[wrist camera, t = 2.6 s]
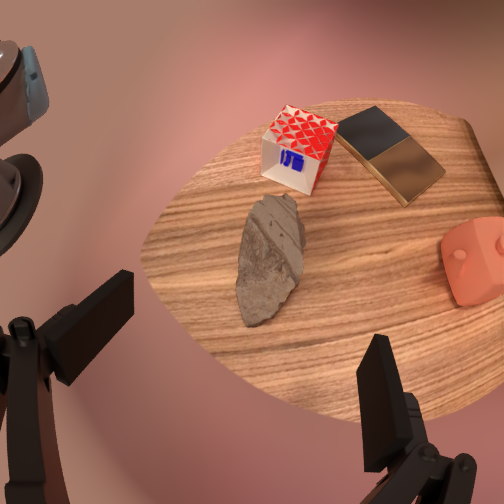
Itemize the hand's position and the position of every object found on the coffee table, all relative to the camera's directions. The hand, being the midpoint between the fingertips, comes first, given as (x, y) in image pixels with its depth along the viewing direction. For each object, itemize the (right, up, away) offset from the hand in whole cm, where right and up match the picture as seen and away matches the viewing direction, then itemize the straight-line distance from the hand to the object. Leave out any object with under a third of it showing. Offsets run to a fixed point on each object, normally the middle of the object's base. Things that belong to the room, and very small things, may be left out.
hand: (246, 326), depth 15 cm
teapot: (+32, +1, +23) cm, 39 cm away
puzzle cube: (+7, +17, +30) cm, 35 cm away
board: (+23, +21, +31) cm, 44 cm away
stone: (+3, +2, +23) cm, 23 cm away
